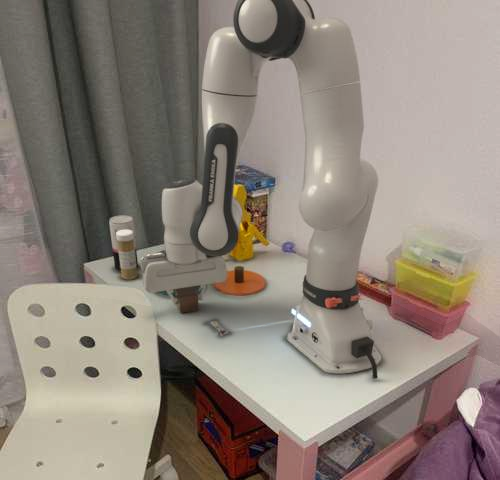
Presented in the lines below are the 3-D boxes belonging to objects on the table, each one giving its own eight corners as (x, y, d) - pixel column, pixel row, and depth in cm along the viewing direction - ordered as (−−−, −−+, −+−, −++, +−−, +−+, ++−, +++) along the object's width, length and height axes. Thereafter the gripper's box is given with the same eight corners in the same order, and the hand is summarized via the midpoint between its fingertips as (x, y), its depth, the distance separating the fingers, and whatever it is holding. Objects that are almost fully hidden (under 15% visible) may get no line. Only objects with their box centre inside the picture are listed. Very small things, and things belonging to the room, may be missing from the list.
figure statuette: (222, 267, 145) (222, 194, 134) (210, 258, 151) (209, 187, 140) (272, 256, 153) (276, 186, 142) (259, 247, 159) (261, 179, 148)
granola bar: (206, 324, 117) (206, 321, 117) (215, 322, 119) (215, 318, 118) (221, 337, 113) (220, 334, 112) (229, 334, 114) (229, 331, 113)
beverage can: (111, 267, 143) (104, 218, 135) (130, 261, 147) (125, 213, 139) (122, 275, 139) (116, 224, 131) (142, 268, 143) (137, 219, 135)
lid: (273, 293, 132) (274, 275, 129) (221, 300, 127) (221, 283, 124) (254, 270, 143) (255, 254, 141) (206, 277, 139) (206, 260, 136)
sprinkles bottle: (133, 272, 141) (128, 227, 134) (140, 277, 138) (136, 232, 131) (118, 276, 138) (112, 231, 132) (125, 281, 135) (120, 236, 128)
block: (198, 310, 121) (197, 293, 118) (180, 313, 119) (179, 296, 117) (193, 302, 124) (193, 285, 122) (176, 304, 123) (175, 288, 121)
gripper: (141, 260, 108) (147, 314, 115) (228, 249, 115) (229, 300, 122) (137, 250, 113) (142, 302, 120) (220, 239, 120) (221, 289, 127)
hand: (187, 301), depth 121 cm, fingers closed on block, 4 cm apart
